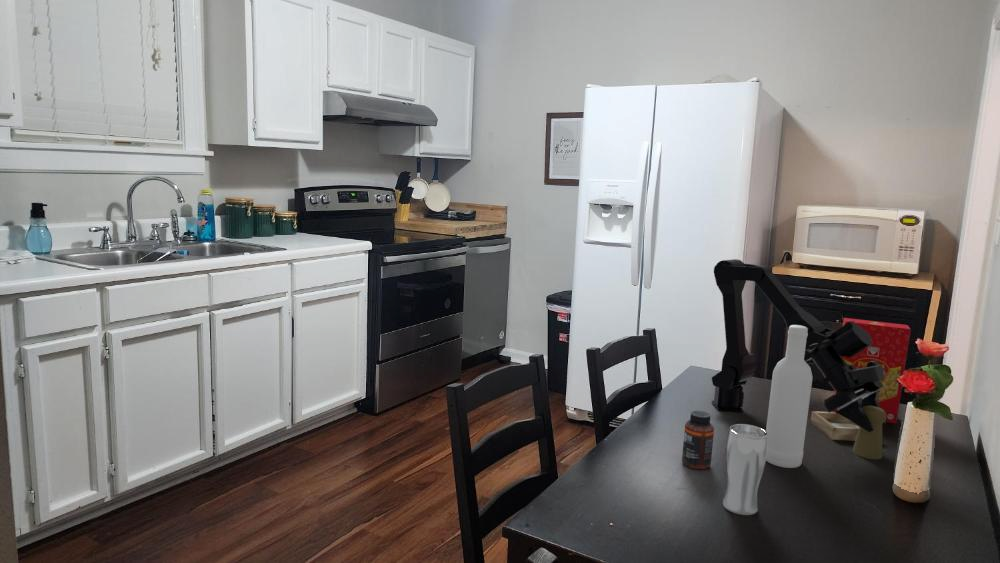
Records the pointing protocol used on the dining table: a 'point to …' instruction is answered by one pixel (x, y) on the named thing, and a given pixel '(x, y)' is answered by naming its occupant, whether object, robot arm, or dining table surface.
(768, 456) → the bottle
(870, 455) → the olive green pepper shaker
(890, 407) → the food packaging
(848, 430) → the oak box
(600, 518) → the dining table surface
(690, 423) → the supplement bottle
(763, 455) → the beer glass
